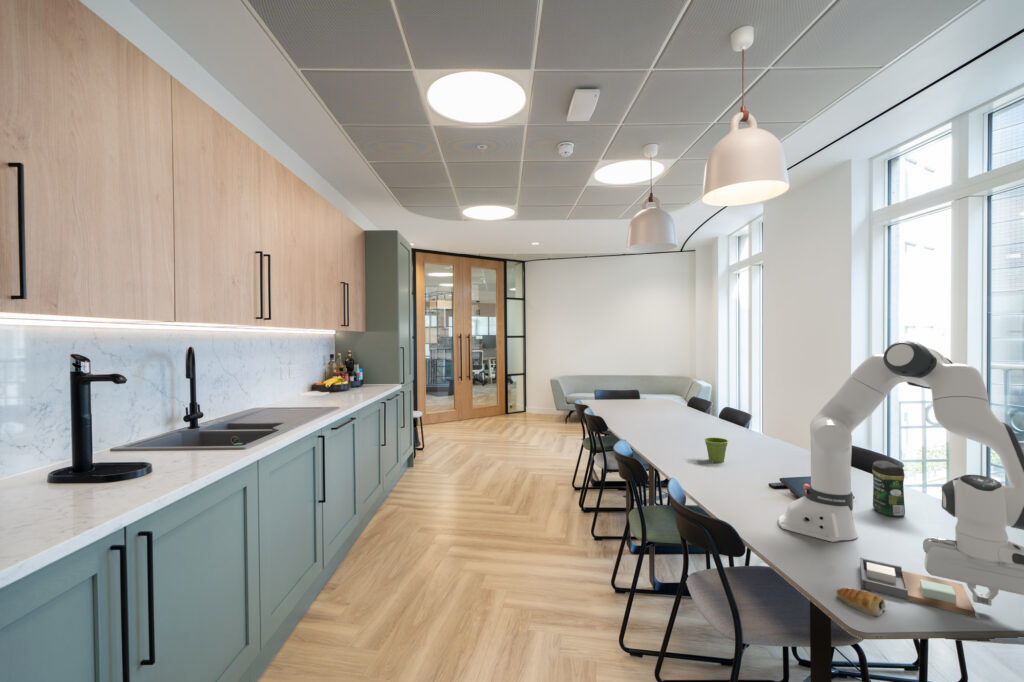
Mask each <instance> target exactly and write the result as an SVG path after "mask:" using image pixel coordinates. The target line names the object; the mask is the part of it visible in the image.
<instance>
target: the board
mask: <svg viewBox="0 0 1024 682" xmlns="http://www.w3.org/2000/svg"><path fill="white" fill-rule="evenodd" d="M902 579H903V582H904V586H905V589H907V590H908V600H907V601H909V602H913V603H917V604H921V605H925V606H930V607H934V608H937V609H941V610H945V611H946V610H947V611H949V612H954V613H957V612H958V613H957V614H962V615H966V616H970V617H974V618H976V610H975V608H974V606H973V604H972V602H971V600H970V598H969V595H968V594H967V591H966V589H965V587H964V585H963V583H959V582H954V581H950V580H947V579H946V580H945V579H941V578H938V577H937V578H936V577H931V576H928V575H921V574H917V573H913V572H909V571H904V570H902ZM920 579H921V580H926V581H930V582H935V583H939V584H944V585H949V586H952V588H953V590H954V592H955V594H956V604H954V603H950V602H945V601H941V600H937V599H933V598H929V597H924V596H923V595H922V592H921V589H920Z"/></svg>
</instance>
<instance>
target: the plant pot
mask: <svg viewBox="0 0 1024 682" xmlns="http://www.w3.org/2000/svg"><path fill="white" fill-rule="evenodd" d="M703 440H704V442H705V445H706V449H707V457H708V461H709V462H710V463H711V462H712V463H719V464H721V463H724V462H725V457H726V451H727V447H728V443H729V442H730V440H728V439H726V438H722V437H721V438H720V437H713V436H712V437H710V436H709V437H705V438H704V439H703Z"/></svg>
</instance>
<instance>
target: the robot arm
mask: <svg viewBox="0 0 1024 682" xmlns="http://www.w3.org/2000/svg"><path fill="white" fill-rule="evenodd" d="M901 383H907V384H908V386H912V387H919V388H922V389H928V390H930V391H931V397H932V409H933V413H934V417H935V420H936V421H937V423H938V424H939V425H941V427H942V428H944V429H945V430H946V431H948V432H950V433H953V434H954V435H956V436H959V437H961V438H964V439H967V440H970V441H973V442H977V443H979V444H981V445H983V446H985V447H988V448H989V449H991V450H992V451H993V452H995V453H996V455H998V457H999V459H1000V463H1001V466H1002V468H1003V471H1004V473H1005V475H1006V478H1007V481H1008V483H1009V485H1003V484H1002V483H1000V481H998V480H996V479H994V478H992V477H989V476H984V475H981V474H964V475H960V476H959V477H958V478H957V479H955V480H953V479H952V480H949V481H947V482H946V483H943V485H942V486H941V508H942V509H943V510H944V511H946V512H947V513H948V514H949V515H950V516H952V517H954V518H956V525H955V529H954V530H955V531H954V532H955V533H954V534H955V540H952V539H945V538H939V537H936V536H933V537H932V536H931V537H929V538H925V539H924V540H923V543H922V545H923V546H922V549H923V551H924V552H925V556H924V564H923V565H924V569H925V571H926V572H927V573H928V574H929V575H930V576H933V577H937V578H943V579H946V580H947V579H948V580H951V581H957V582H961V583H965V584H966V586H967V588H968V590H969V591H970V592H971V593H972V601H973V603H977V604H982V605H987V606H992V605H993V604H992V600H993V599H994V598H996V597H997V596H998V595H999V591H1002V592H1008V593H1011V594H1017V595H1023V596H1024V546H1023V545H1020V544H1017V543H1015V542H1013V541H1010V540H1009V536H1008V532H1007V527H1010V528H1013V529H1016V530H1022V531H1024V451H1023V449H1022V446H1021V444H1020V441H1019V440H1018V437H1017V435H1016V434H1015V432H1014V430H1013V429H1012V427H1011V426H1010V424H1007V423H1006V422H1002V421H1001V420H1000V419H999V418H998V417H997V416H996V415H995V414H994V412H993V411H992V409H991V406H990V400H989V395H988V391H987V388H986V385H985V382H984V379H983V377H982V375H981V373H980V371H979V370H978V369H977V368H976V367H974V366H972V365H969V364H964V363H953V361H951V360H950V359H949V358H947V357H945V356H944V355H943V354H941V353H940V352H938V351H936V350H935V349H931V348H929V347H927V346H924V345H923V344H921V343H918V342H915V341H912V340H901V341H897V342H894V343H892V344H891V345H889V346H888V347H887V348H886V349H885V351H884V353H874V354H871V355H870V356H869V357H867V358H866V359H865V360H864V361H862V362H861V363H860V365H859V366H857V368H855V370H854V371H853V372H852V373H851V374H850V376H849V377H848V378H847V379H846V380H845V382H844V383H843V384H842V385H841V387H839V389H838V390H837V392H836V393H835V394H834V396H832V398H830V400H829V401H828V402H827V403H826V404H825V405H824V406H823V407H822V408H821V409H820V411H819V412H818V413H817V414H816V415H815V416H814V418H812V420H811V421H810V424H809V433H810V484H808V483H804V484H803V487H802V488H803V496H802V497H799V498H798V499H795V500H793V501H791V502H790V503H788V505H787V507H786V510H785V513H784V514H781V515H780V516H779V518H778V522H777V523H778V525H779V527H780V528H782V529H783V530H787V531H789V532H794V533H797V534H801V535H804V536H808V537H813V538H817V539H820V540H824V541H827V542H831V543H833V542H840V541H852V540H855V539H857V538H858V537H859V535H858V532H857V529H856V525H855V520H854V515H853V510H854V509H853V508H854V496H853V494H854V493H853V492H852V481H851V480H852V478H851V477H852V476H851V475H852V474H851V472H852V467H851V466H852V451H853V449H852V448H853V447H852V446H853V445H852V444H853V443H852V442H853V436H852V433H853V432H854V431H855V429H857V427H858V426H859V425H860V424H861V423H863V422H864V421H865V420H866V419H867V418H869V417H870V416H872V414H873V413H874V412H875V410H876V409H877V408H878V407H879V406H880V404H882V402H883V401H884V400H885V399H886V397H887V396H888V395H889V393H891V391H892V390H893V389H894V388H895V387H896V386H897V385H899V384H901ZM977 586H980V587H985V588H987V589H988V591H987V592H986V593H985V594H983V593H979V592H977V591H975V589H977Z"/></svg>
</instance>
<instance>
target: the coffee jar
mask: <svg viewBox="0 0 1024 682" xmlns="http://www.w3.org/2000/svg"><path fill="white" fill-rule="evenodd" d="M871 468H872V469H871V471H872V478H873V479H872V481H873V483H872V484H873V486H872V487H873V488H872V490H873V491H872V508H873V509H874V510H875V511H877V512H878V513H881V514H882V515H884V516H889V517H890V516H891V517H896V518H899V517H904V516H905V515H906V507H905V495H904V494H905V492H904V481H905V469H904V468H903V467H901V466H898V465H896V464H894V463H892V462H890V461H888V460H875V461H874V462H873V463H872V467H871Z"/></svg>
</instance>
